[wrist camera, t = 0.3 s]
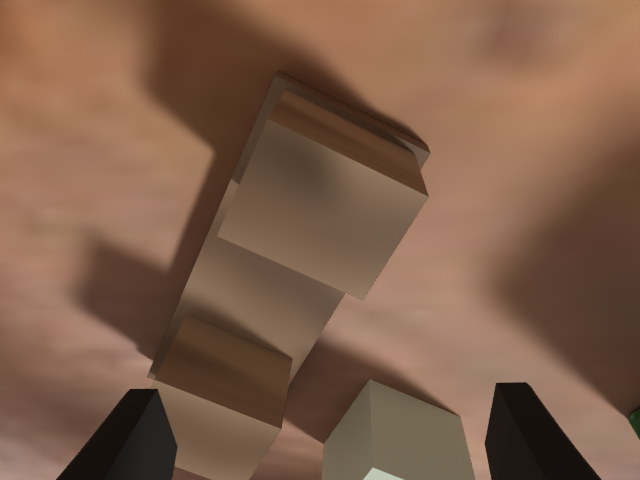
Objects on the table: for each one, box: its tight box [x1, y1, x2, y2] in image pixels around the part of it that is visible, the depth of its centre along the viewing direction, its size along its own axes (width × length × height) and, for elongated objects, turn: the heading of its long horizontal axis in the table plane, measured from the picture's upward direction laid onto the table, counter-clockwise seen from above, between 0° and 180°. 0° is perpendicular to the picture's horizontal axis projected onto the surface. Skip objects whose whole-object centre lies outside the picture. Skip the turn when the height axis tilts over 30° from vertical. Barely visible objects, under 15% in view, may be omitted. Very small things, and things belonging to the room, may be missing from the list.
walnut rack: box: [147, 71, 430, 480], centre depth 20 cm, size 15×6×5 cm, turn 154°
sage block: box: [321, 379, 475, 480], centre depth 24 cm, size 5×5×5 cm
